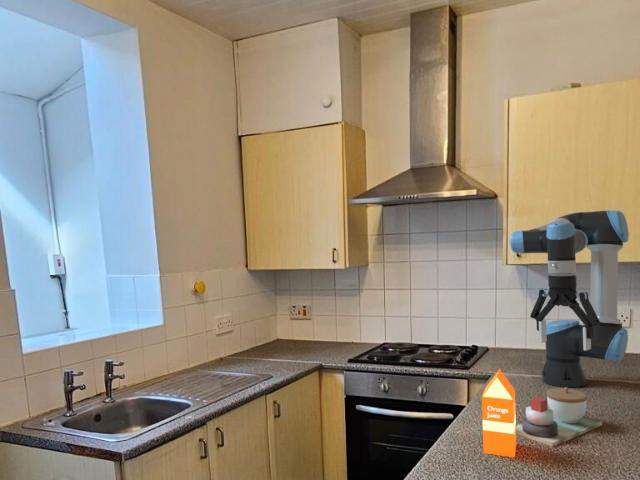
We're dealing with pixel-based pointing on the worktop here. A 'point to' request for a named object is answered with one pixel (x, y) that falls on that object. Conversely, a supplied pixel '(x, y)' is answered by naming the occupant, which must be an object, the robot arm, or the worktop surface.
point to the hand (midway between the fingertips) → (564, 345)
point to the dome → (539, 412)
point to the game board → (560, 436)
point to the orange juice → (499, 417)
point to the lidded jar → (567, 404)
